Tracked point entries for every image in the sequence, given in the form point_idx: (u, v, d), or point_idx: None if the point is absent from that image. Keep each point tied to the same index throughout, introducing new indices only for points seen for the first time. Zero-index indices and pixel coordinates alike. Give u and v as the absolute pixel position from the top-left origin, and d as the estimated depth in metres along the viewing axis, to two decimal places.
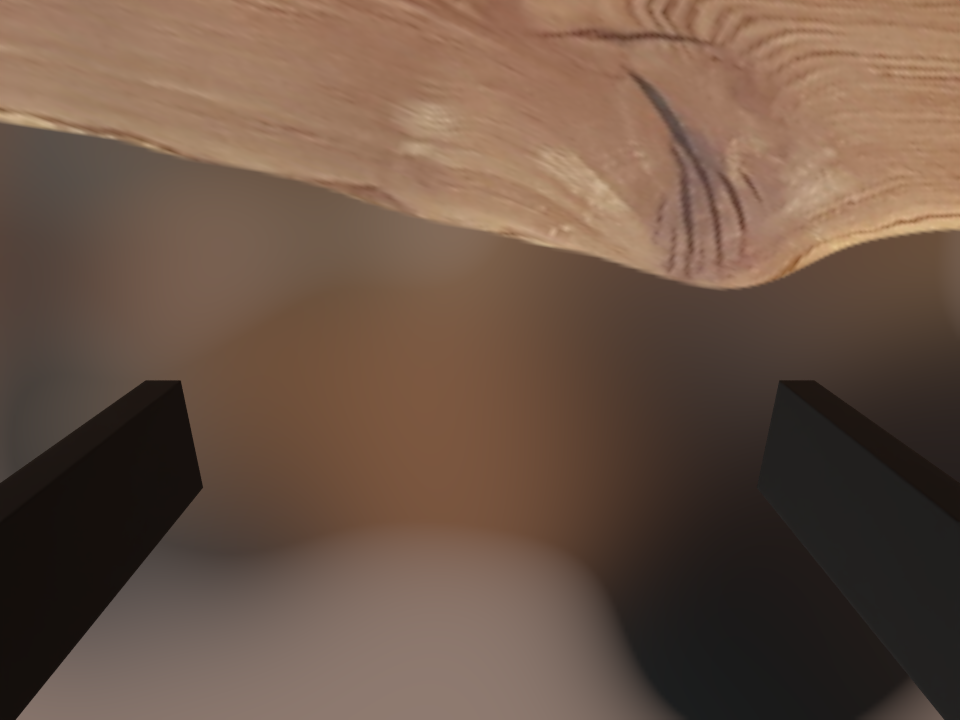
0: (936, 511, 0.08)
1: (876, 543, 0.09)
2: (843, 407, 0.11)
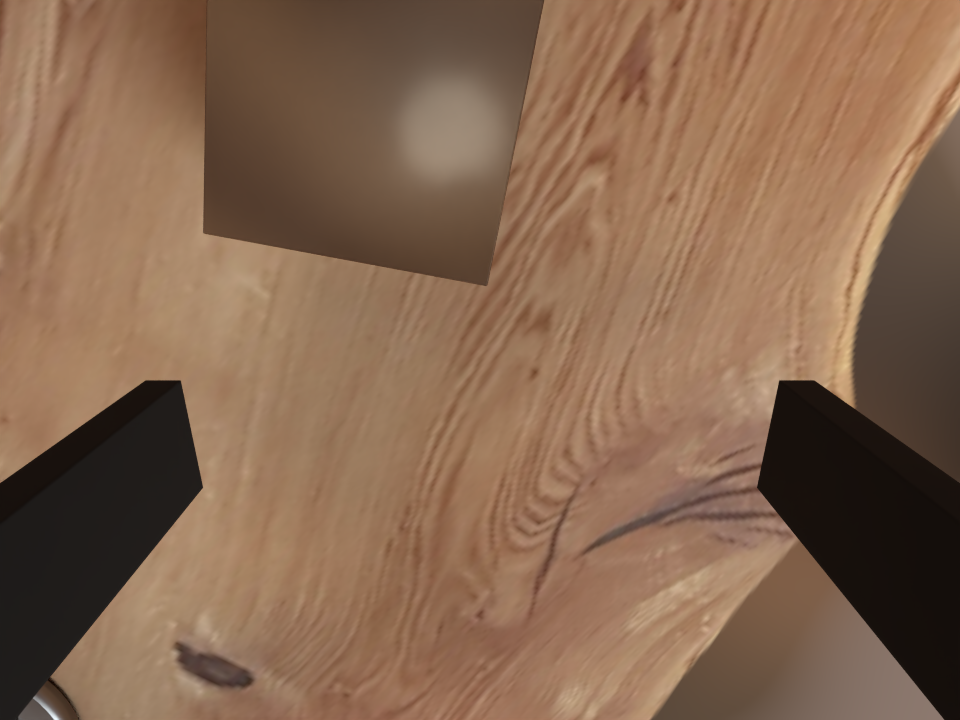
0: (936, 511, 0.08)
1: (877, 543, 0.09)
2: (843, 407, 0.11)
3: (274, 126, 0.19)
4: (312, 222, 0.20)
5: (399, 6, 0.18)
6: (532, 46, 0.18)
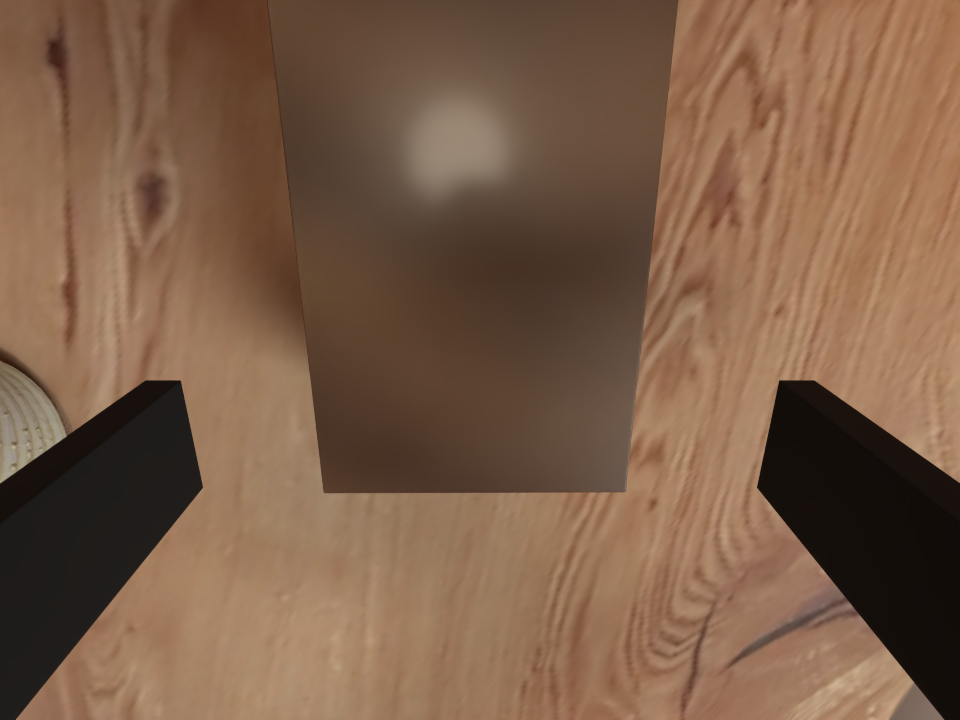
0: (936, 511, 0.08)
1: (877, 543, 0.09)
2: (843, 407, 0.11)
3: (383, 384, 0.18)
4: (433, 464, 0.19)
5: (499, 250, 0.16)
6: (647, 260, 0.17)
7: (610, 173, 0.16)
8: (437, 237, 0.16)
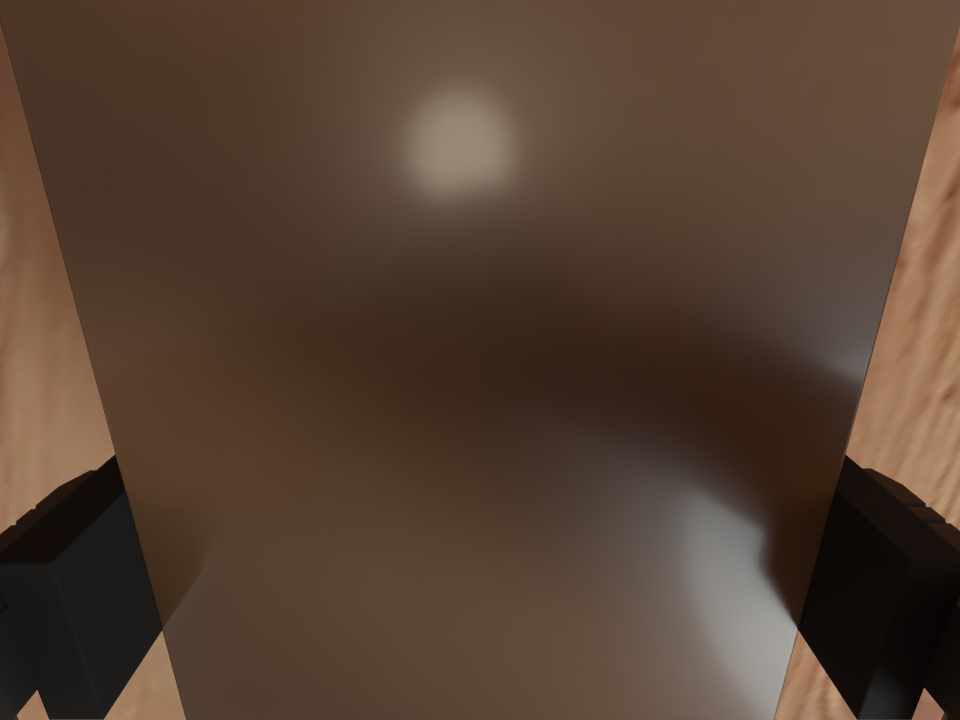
0: None
1: None
2: None
3: (299, 610, 0.09)
4: None
5: (536, 365, 0.07)
6: (858, 383, 0.08)
7: (799, 198, 0.07)
8: (399, 337, 0.07)
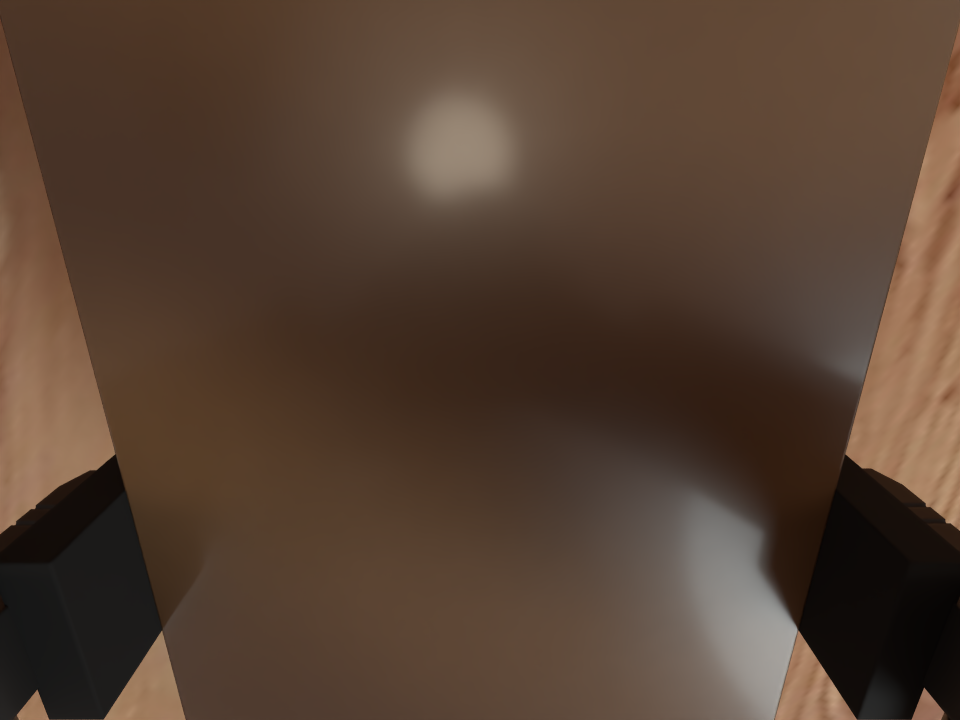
0: None
1: None
2: None
3: (299, 610, 0.09)
4: None
5: (537, 365, 0.08)
6: (858, 383, 0.08)
7: (799, 197, 0.07)
8: (400, 337, 0.07)
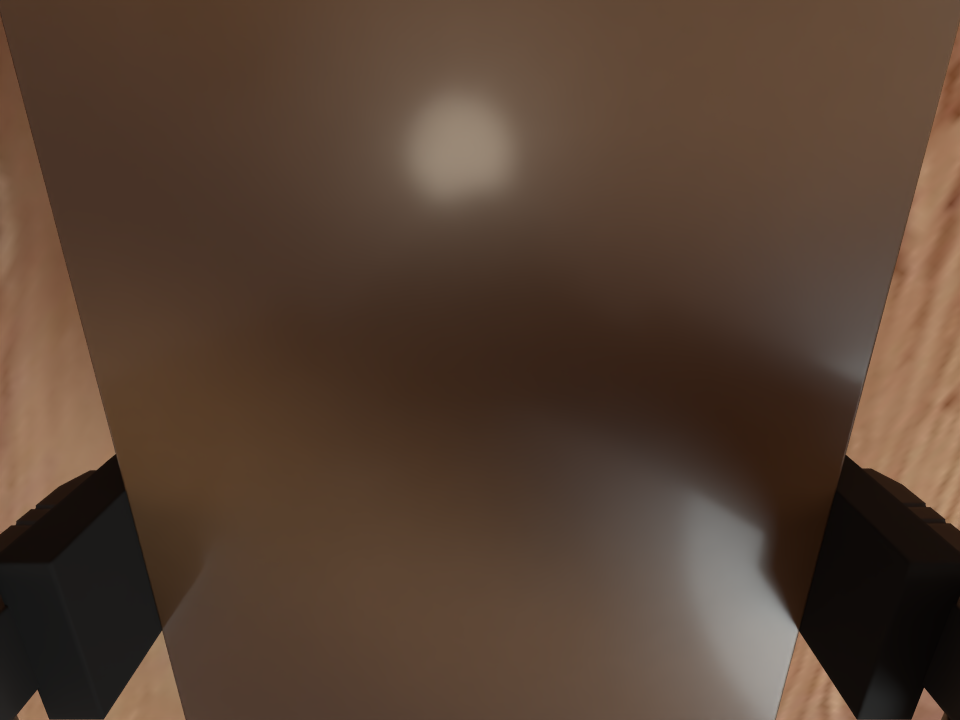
0: None
1: None
2: None
3: (300, 610, 0.09)
4: None
5: (537, 364, 0.08)
6: (858, 383, 0.08)
7: (799, 197, 0.07)
8: (399, 337, 0.07)
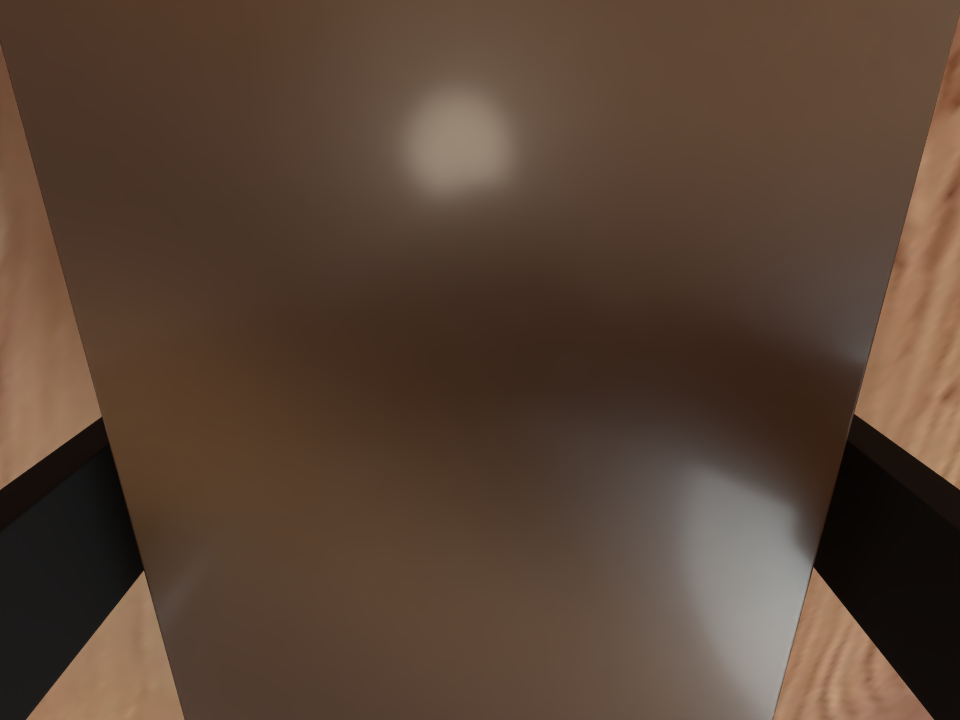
0: (920, 506, 0.08)
1: (863, 539, 0.09)
2: None
3: (297, 605, 0.09)
4: None
5: (534, 356, 0.07)
6: (858, 374, 0.08)
7: (799, 185, 0.07)
8: (395, 328, 0.07)
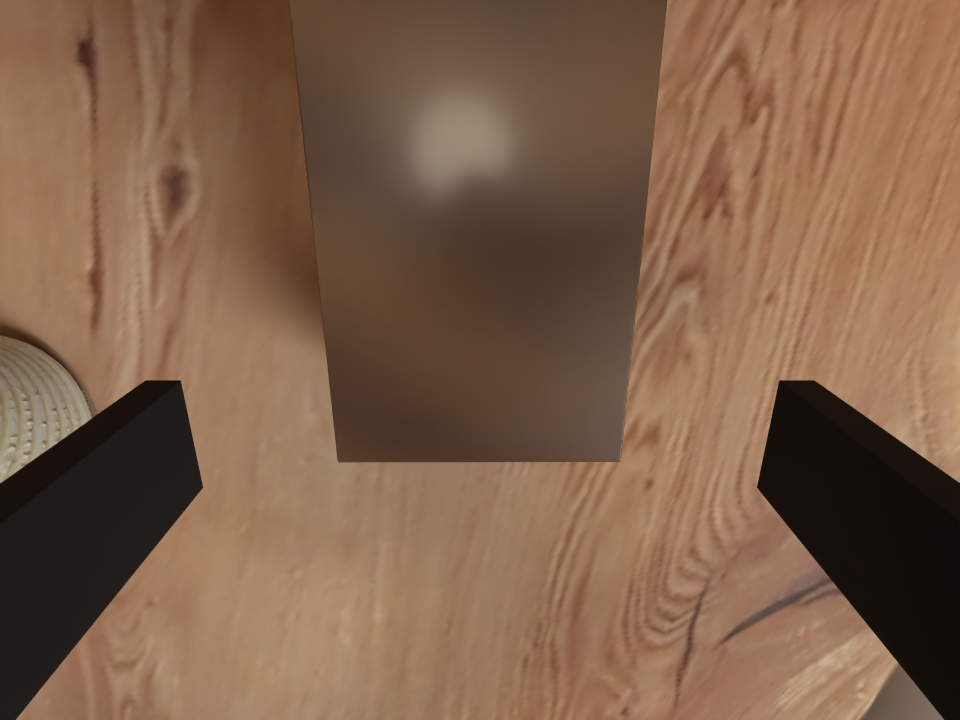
0: (936, 511, 0.08)
1: (878, 543, 0.09)
2: (843, 407, 0.11)
3: (394, 359, 0.19)
4: (441, 435, 0.20)
5: (502, 233, 0.18)
6: (640, 241, 0.18)
7: (605, 160, 0.17)
8: (444, 220, 0.18)
